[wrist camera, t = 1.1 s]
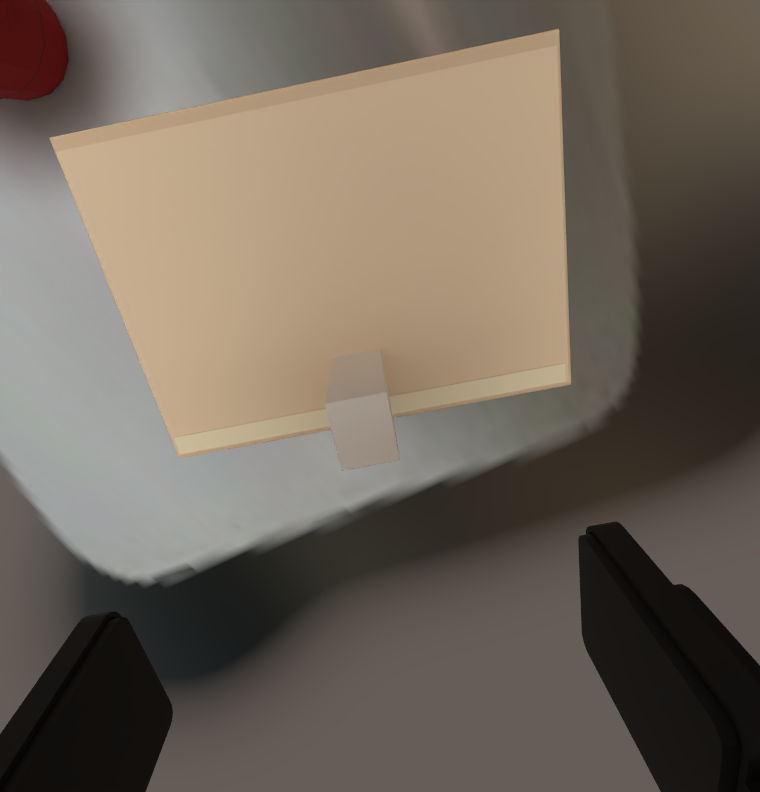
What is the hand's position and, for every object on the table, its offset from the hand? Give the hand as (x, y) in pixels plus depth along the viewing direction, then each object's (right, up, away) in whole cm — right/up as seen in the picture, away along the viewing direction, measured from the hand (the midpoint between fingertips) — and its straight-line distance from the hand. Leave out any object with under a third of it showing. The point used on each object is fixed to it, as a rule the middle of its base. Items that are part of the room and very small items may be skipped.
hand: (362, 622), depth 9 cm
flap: (-2, +10, +13) cm, 17 cm away
